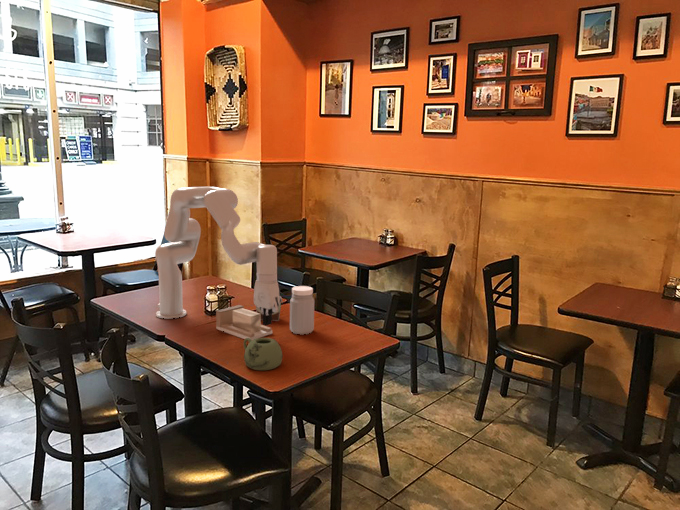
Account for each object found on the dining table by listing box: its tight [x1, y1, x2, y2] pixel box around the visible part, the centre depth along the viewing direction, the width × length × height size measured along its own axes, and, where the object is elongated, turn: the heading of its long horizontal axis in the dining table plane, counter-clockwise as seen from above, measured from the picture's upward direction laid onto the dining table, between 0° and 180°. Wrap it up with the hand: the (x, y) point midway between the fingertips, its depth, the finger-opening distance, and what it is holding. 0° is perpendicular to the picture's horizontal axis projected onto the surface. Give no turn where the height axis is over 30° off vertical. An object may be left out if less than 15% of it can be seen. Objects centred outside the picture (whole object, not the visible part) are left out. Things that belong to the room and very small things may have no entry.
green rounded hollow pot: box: [242, 337, 283, 371], centre depth 182 cm, size 16×13×9 cm
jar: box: [289, 285, 315, 336], centre depth 215 cm, size 10×10×18 cm
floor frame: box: [215, 304, 273, 340], centre depth 215 cm, size 20×12×8 cm, turn 50°
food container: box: [255, 295, 284, 322], centre depth 232 cm, size 12×6×10 cm, turn 84°
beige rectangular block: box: [233, 307, 262, 333], centre depth 214 cm, size 5×11×7 cm, turn 50°
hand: (267, 324), depth 206 cm, fingers closed
